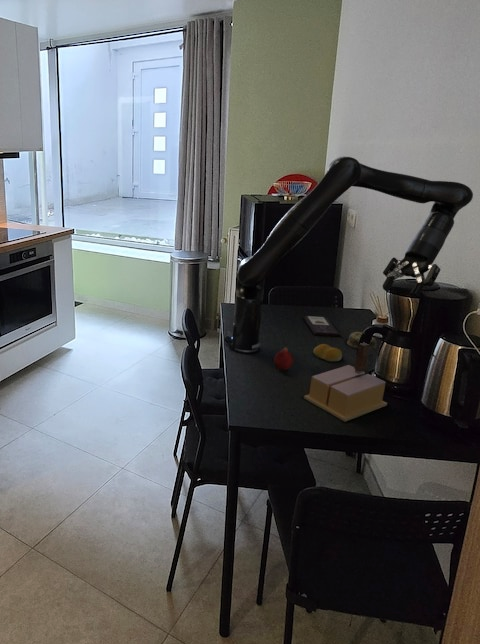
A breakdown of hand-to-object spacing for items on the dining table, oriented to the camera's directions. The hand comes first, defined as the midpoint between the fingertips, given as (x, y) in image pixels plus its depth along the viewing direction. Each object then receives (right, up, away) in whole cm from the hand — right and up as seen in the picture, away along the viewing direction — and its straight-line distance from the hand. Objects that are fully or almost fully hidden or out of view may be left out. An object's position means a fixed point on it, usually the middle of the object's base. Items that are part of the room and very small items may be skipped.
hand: (398, 292), depth 140 cm
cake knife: (-12, -30, +1) cm, 32 cm away
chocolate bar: (0, -14, +55) cm, 56 cm away
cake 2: (+8, -20, +38) cm, 44 cm away
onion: (-28, -26, +18) cm, 42 cm away
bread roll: (-9, -23, +28) cm, 37 cm away
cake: (-16, -31, -1) cm, 35 cm away
